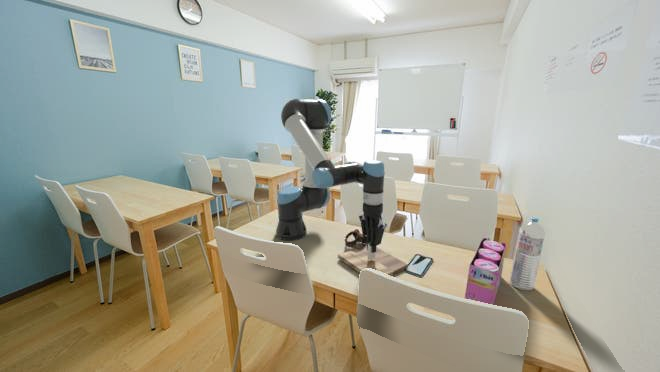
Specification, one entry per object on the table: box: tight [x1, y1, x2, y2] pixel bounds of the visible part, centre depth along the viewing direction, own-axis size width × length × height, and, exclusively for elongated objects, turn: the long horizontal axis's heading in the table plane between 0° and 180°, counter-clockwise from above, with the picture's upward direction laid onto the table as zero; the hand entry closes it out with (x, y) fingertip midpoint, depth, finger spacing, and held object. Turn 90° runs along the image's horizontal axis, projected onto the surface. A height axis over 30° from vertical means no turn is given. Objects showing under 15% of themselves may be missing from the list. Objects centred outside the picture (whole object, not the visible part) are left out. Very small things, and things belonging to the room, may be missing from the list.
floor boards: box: [356, 245, 408, 276], centre depth 111 cm, size 21×8×2 cm, turn 36°
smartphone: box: [403, 253, 434, 278], centre depth 106 cm, size 7×1×15 cm
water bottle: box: [509, 217, 546, 292], centre depth 90 cm, size 7×7×25 cm
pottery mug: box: [344, 228, 367, 248], centre depth 123 cm, size 12×10×8 cm
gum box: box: [464, 237, 507, 305], centre depth 91 cm, size 24×8×14 cm, turn 142°
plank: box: [337, 248, 394, 277], centre depth 105 cm, size 21×10×2 cm, turn 36°
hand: (371, 258), depth 107 cm, fingers closed
